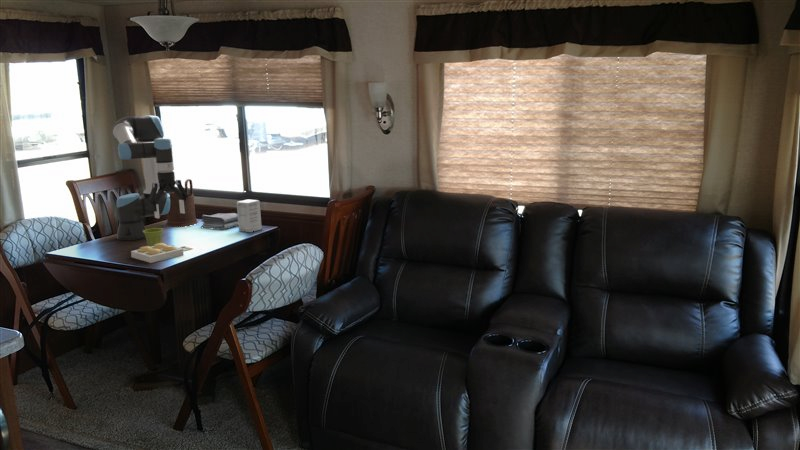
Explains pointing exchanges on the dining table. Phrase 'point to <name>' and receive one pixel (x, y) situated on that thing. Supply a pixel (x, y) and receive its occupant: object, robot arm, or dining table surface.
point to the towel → (220, 221)
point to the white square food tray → (156, 255)
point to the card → (185, 248)
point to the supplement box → (249, 215)
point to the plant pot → (153, 236)
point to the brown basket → (174, 213)
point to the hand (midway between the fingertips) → (170, 215)
